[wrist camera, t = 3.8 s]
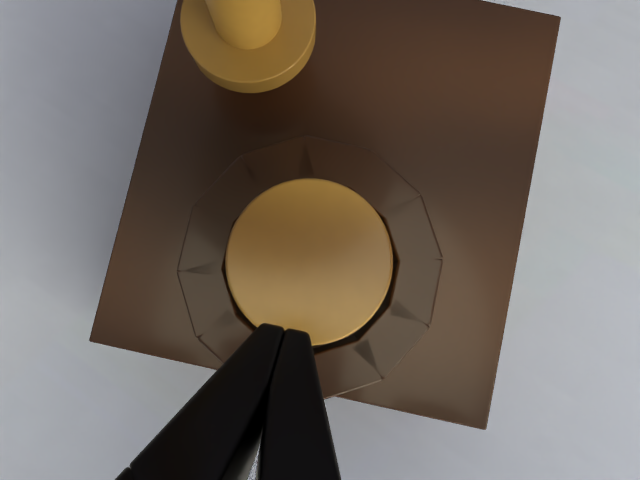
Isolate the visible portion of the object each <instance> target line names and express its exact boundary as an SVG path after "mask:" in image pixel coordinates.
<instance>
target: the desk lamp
mask: <svg viewBox="0 0 640 480" xmlns="http://www.w3.org/2000/svg"><path fill="white" fill-rule="evenodd" d="M180 25H181V32H182V36H183V39H184V42H185V45H186V47H187V49H188V51H189V53H190V55H191V56H192V58H193V60H194V62H195V64H196V65H197V67H198V68H199V69H200V71H201V72H202V73H203V74H204V75H205V76H206V77H207V78H209V79H210V80H211V81H213V82H214V83H216V84H218V85H219V86H221V87H224V88H226V89H228V90H232V91H235V92H242V93H259V92H265V91H269V90H272V89H275V88H278V87H280V86H282V85H283V84H285V83H287V82H288V81H290V80H291V79H293V78H294V77H295V76H296V75H297V74H298V73H299V72H300V71H301V70H302V68H303V67H304V66H305V64H306V63H307V61H308V60H309V58H310V55H311V53H312V51H313V48H314V44H315V38H316V12H315V5H314V1H313V0H183V3H182V7H181V14H180Z"/></svg>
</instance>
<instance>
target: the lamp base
mask: <svg viewBox="0 0 640 480" xmlns="http://www.w3.org/2000/svg"><path fill="white" fill-rule="evenodd" d="M313 1H314V5H315V12H316V38H315V44H314V48H313V51H312V53H311V55H310V58H309V60H308V61H307V63H306V64H305V66H304V67H303V68H302V70H301V71H300V72H299V73H298V74H297V75H296V76H295V77H294V78H293V79H291V80H290V81H288V82H287V83H285V84H283V85H282V86H280V87H278V88H275V89H272V90H269V91H265V92H259V93H242V92H235V91H232V90H228V89H226V88H224V87H221V86H219V85H218V84H216V83H214V82H213V81H211V80H210V79H209V78H207V77H206V76H205V75H204V74H203V73H202V72H201V71H200V69H199V68H198V67H197V65H196V64H195V62H194V60H193V58H192V56H191V55H190V53H189V51H188V49H187V47H186V45H185V42H184V39H183V36H182V32H181V25H180V14H181V7H182V3H183V0H177V4H176V8H175V12H174V16H173V19H172V23H171V27H170V31H169V35H168V39H167V42H166V46H165V50H164V54H163V58H162V62H161V66H160V69H159V73H158V77H157V81H156V85H155V89H154V92H153V96H152V100H151V104H150V108H149V112H148V116H147V119H146V123H145V127H144V131H143V135H142V139H141V143H140V146H139V150H138V154H137V158H136V162H135V166H134V169H133V173H132V177H131V181H130V185H129V189H128V193H127V196H126V200H125V204H124V208H123V212H122V216H121V219H120V223H119V227H118V231H117V235H116V239H115V243H114V246H113V250H112V254H111V258H110V262H109V266H108V270H107V273H106V277H105V281H104V285H103V289H102V293H101V296H100V300H99V304H98V308H97V312H96V316H95V320H94V323H93V327H92V331H91V335H90V339H89V341H90V342H94V343H99V344H103V345H108V346H112V347H117V348H121V349H126V350H130V351H135V352H139V353H143V354H148V355H152V356H157V357H161V358H166V359H170V360H175V361H179V362H184V363H188V364H193V365H197V366H202V367H206V368H210V369H215V370H218V369H219V368H220V367H221V366H222V365H223V364H224V363H225V362H226V360H227V359H228V358H229V357H230V356H231V355H232V354H233V353H234V352H235V351H236V350H237V349H238V348H239V347H240V345H241V344H242V343H243V342H244V341H245V340H246V339H247V338H248V337H249V336H250V335H251V334H252V333H253V332H254V330H255V329H256V328H257V327H256V326H255V325H253V324H252V323H251V322H250V321H249V320H248V319H247V318H246V316H245V315H244V314H243V313H242V311H241V310H240V309H239V307H238V306H237V304H236V302H235V300H234V298H233V296H232V293H231V291H230V288H229V285H228V281H227V276H226V267H225V258H226V249H227V243H228V239H229V236H230V233H231V231H232V228H233V226H234V224H235V222H236V220H237V219H238V217H239V216H240V214H241V213H242V211H243V210H244V209H245V208H246V206H247V205H248V204H249V203H250V202H251V201H252V200H254V199H255V198H256V197H257V196H258V195H260V194H261V193H263V192H264V191H266V190H267V189H269V188H271V187H273V186H275V185H278V184H280V183H283V182H286V181H290V180H294V179H303V178H317V179H323V180H329V181H332V182H336V183H339V184H341V185H343V186H346V187H348V188H349V189H351V190H353V191H354V192H356V193H358V194H359V195H360V196H361V197H363V198H364V199H365V200H366V201H367V202H368V203H369V204H370V205H371V206H372V207H373V208H374V209H375V211H376V212H377V213H378V215H379V216H380V218H381V220H382V221H383V223H384V225H385V227H386V230H387V232H388V235H389V238H390V242H391V246H392V254H393V270H392V277H391V282H390V285H389V289H388V291H387V294H386V296H385V298H384V300H383V302H382V304H381V305H380V307H379V309H378V310H377V311H376V313H375V314H374V315H373V317H372V318H371V319H370V320H369V321H368V322H367V323H366V324H365V325H364V326H362V327H361V328H360V329H358V330H357V331H356V332H354V333H352V334H350V335H349V336H347V337H345V338H343V339H340V340H338V341H335V342H331V343H327V344H322V345H313V346H312V348H313V353H314V357H315V362H316V366H317V371H318V375H319V380H320V385H321V389H322V394H323V398H324V400H325V399H328V398H331V397H334V396H335V397H340V398H344V399H349V400H353V401H358V402H362V403H367V404H371V405H376V406H380V407H385V408H389V409H393V410H398V411H402V412H407V413H411V414H416V415H420V416H425V417H429V418H434V419H438V420H443V421H447V422H452V423H456V424H460V425H465V426H469V427H474V428H478V429H483V430H485V429H486V427H487V422H488V416H489V411H490V405H491V400H492V394H493V389H494V383H495V378H496V372H497V366H498V361H499V355H500V350H501V344H502V339H503V333H504V328H505V322H506V317H507V311H508V306H509V300H510V295H511V289H512V284H513V278H514V273H515V267H516V262H517V256H518V251H519V245H520V240H521V234H522V229H523V223H524V218H525V212H526V207H527V201H528V196H529V190H530V185H531V179H532V174H533V168H534V163H535V157H536V152H537V146H538V141H539V135H540V130H541V124H542V119H543V113H544V108H545V102H546V97H547V91H548V86H549V80H550V75H551V69H552V64H553V58H554V53H555V47H556V42H557V36H558V31H559V25H560V20H561V17H559V16H554V15H549V14H545V13H540V12H535V11H530V10H525V9H520V8H516V7H511V6H506V5H501V4H496V3H491V2H486V1H482V0H313Z"/></svg>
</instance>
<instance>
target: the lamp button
mask: <svg viewBox="0 0 640 480" xmlns="http://www.w3.org/2000/svg"><path fill="white" fill-rule="evenodd" d="M225 267H226V276H227V281H228V285H229V288H230V291H231V293H232V296H233V298H234V300H235V302H236V304H237V306H238V307H239V309H240V310H241V311H242V313H243V314H244V315H245V316H246V318H247V319H248V320H249V321H250V322H251V323H252V324H253V325H255V326H256V327H258V326H259V325H261V324H262V323H269V324H273V325H278V326H282V327H283V328H284V330H286V329H288V328H291V329H296V330H300V331H305V332H307V333H308V334H309V335H310V339H311V343H312V346H313V345H322V344H327V343H331V342H335V341H338V340H340V339H343V338H345V337H347V336H349V335H350V334H352V333H354V332H356V331H357V330H358V329H360V328H361V327H362V326H364V325H365V324H366V323H367V322H368V321H369V320H370V319H371V318H372V317H373V315H374V314H375V313H376V311H377V310H378V309H379V307H380V305H381V304H382V302H383V300H384V298H385V296H386V294H387V291H388V289H389V285H390V282H391V277H392V270H393V254H392V246H391V242H390V238H389V235H388V232H387V230H386V227H385V225H384V223H383V221H382V220H381V218H380V216H379V215H378V213H377V212H376V211H375V209H374V208H373V207H372V206H371V205H370V204H369V203H368V202H367V201H366V200H365V199H364V198H363V197H361V196H360V195H359V194H358V193H356V192H354V191H353V190H351V189H349V188H348V187H346V186H343V185H341V184H339V183H336V182H332V181H329V180H323V179H317V178H303V179H294V180H290V181H286V182H283V183H280V184H278V185H275V186H273V187H271V188H269V189H267V190H266V191H264V192H263V193H261V194H260V195H258V196H257V197H256V198H255V199H254V200H252V201H251V202H250V203H249V204H248V205H247V206H246V208H245V209H244V210H243V211H242V213H241V214H240V216H239V217H238V219H237V220H236V222H235V224H234V226H233V228H232V231H231V233H230V236H229V239H228V243H227V249H226V258H225Z"/></svg>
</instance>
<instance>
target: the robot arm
mask: <svg viewBox="0 0 640 480" xmlns="http://www.w3.org/2000/svg"><path fill="white" fill-rule="evenodd" d="M260 441H261V442H260ZM259 444H260V448H259ZM258 448H259V455H258V462H257V470H256V478H255V480H341V476H340V472H339V467H338V463H337V458H336V453H335V449H334V444H333V440H332V435H331V430H330V426H329V421H328V417H327V412H326V408H325V403H324V398H323V394H322V389H321V385H320V380H319V375H318V371H317V366H316V362H315V357H314V353H313V348H312V343H311V339H310V335H309V334H308V333H307V332H305V331H300V330H296V329H291V328H288V329H286V330H284V328H283V327H282V326H278V325H273V324H269V323H262V324H261V325H259V326H258V327H257V328H256V329H255V330H254V332H253V333H252V334H251V335H250V336H249V337H248V338H247V339H246V340H245V341H244V342H243V343H242V344H241V345H240V347H239V348H238V349H237V350H236V351H235V352H234V353H233V354H232V355H231V356H230V357H229V358H228V359H227V360H226V362H225V363H224V364H223V365H222V366H221V367H220V368H219V369H218V370H217V371H216V372H215V373H214V374H213V375H212V376H211V378H210V379H209V380H208V381H207V382H206V383H205V384H204V385H203V386H202V387H201V388H200V389H199V390H198V391H197V393H196V394H195V395H194V396H193V397H192V398H191V399H190V400H189V401H188V402H187V403H186V404H185V405H184V406H183V408H182V409H181V410H180V411H179V412H178V413H177V414H176V415H175V416H174V417H173V418H172V419H171V420H170V421H169V423H168V424H167V425H166V426H165V427H164V428H163V429H162V430H161V431H160V432H159V433H158V434H157V435H156V436H155V438H154V439H153V440H152V441H151V442H150V443H149V444H148V445H147V446H146V447H145V448H144V449H143V450H142V451H141V452H140V454H139V455H138V456H137V457H136V458H135V459H134V460H133V461H132V462H131V463H130V468H129V467H127V468H125V469H124V470H123V471H122V473H121V474H120V475H119V476H118V477H117V478H116V479H115V480H247V479H248V476H249V474H250V471H251V468H252V466H253V463H254V460H255V457H256V454H257V451H258Z"/></svg>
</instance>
